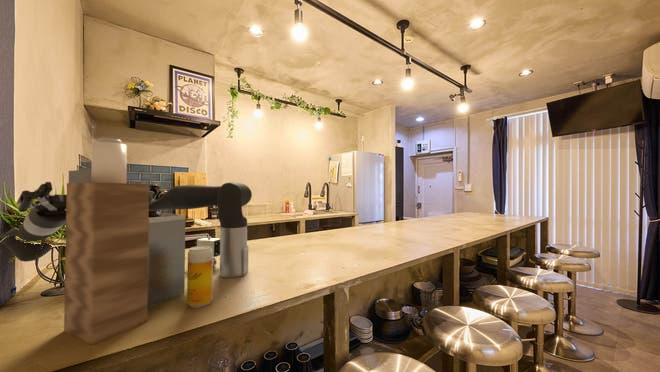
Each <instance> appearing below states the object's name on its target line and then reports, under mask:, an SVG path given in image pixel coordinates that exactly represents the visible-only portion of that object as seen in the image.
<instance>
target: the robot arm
mask: <svg viewBox="0 0 660 372" xmlns="http://www.w3.org/2000/svg"><path fill="white" fill-rule="evenodd" d="M132 184H146V183H145V182H133V183H132ZM52 191H53V185H52V182H51V181H45V182H44V183H41V184H40V185H39V187H38V188H37V189H34V191H31V190H23V191H21V193H20V196H19V197H18V199H17V202H16V203H17V205H16V206H17V210H18V212H20V213H23V212H27V211H28V210H29V209H30V210H29V211H28V212H27V213H26V215H25V218H24V220H23V222H22V223H21V224H20V225H19V226H20V227H19V228H18V229H19V230H17V229H15V228H16V227H15V228H11V229H10V230H8V231H6V232H5V233H3V235H2V236H3V238H4V237H6V236H8V235H10V236H9V237H8V238H6V239H5V240H4V241H3V242H2V244H3V245H4V246H5V247H6V248H7V249H8V250H9V251H10V252H11V254H13V255H14V257H16V259H18V261H20V262H25V263H26V262H28V263H29V262H32V261H36V260H37V259H36V255H37V252H38V257H39V259H40V258H42V257H44V256H45V255H47V254H48V253H49V252H50V251H51V250H53V249H54V248H55V247H53V249H52V248H49V247H52V246H51V245H49V244H47V243H44V245H43V247H41V248H42V249H41V248H39V247H40V244H35V245H34V244H31V243H24V242H21V241H20V240H16V239H15V236H18V237H19V238H21V239H23V240H26V241H37V240H43V239H46V238H47V237H49V236H50V235H52V234H53V233H55V232H56V231H58V230H59V229H60V228H61V227H63V225H64V224H65V223H66V203H67V194H51V192H52ZM151 193H152V192H151V190H149V212H154V211H163V210H193V209H194V210H195V209H203V208H207V207H214V206H217V207H216V208H217V219H218V221H219V225H220V227H219V230H220V231H219V239H220V255H219V276H220V277H221V278H228V279H229V278H237V277H243V276H244V277H245V276H246V274H247V273H248V271H249V245H248V219H247V217H246V216H245V215H243V207H244V206H246V205H248V203H250V201H251V199H252V196H253V195H252V190H251V189H250V187H249V186H247V185H246V184H245V183H242V182H226V183H225V182H224V183H223V184H222V185H221V186H212V185H201V184H200V185H199V184H198V185H197V184H186V185H185V184H184V185H176V186H173V187H171V188H170V189H169V190H167V191H166V192H165V193H164V194H162V196H161V197H160V198H158V199H154V197H153V196H152V194H151ZM33 200H35V201H34V202H33ZM25 246H26V247H25ZM38 249H39V250H38Z"/></svg>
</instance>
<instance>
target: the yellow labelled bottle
mask: <svg viewBox="0 0 660 372" xmlns="http://www.w3.org/2000/svg"><path fill="white" fill-rule="evenodd" d="M213 274H214V266H213V250H212V248H211V246H195V247H193V246H192V247H190V248H189V249H188V252H187V279H186V280H187V282H186V284H187V285H186V287H187V289H186V290H187V293H186V299H187V302H186V303H187V305H188V306H189V307H190V308H195V309H196V308H203V307H205V306H208V305H209V304H210V303H211V302H212V300H213V295H214V294H213V293H214V292H213V289H214V286H213V284H214V281H213V279H214V277H213Z"/></svg>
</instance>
